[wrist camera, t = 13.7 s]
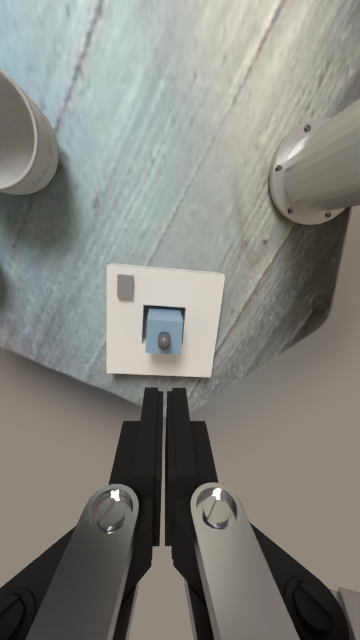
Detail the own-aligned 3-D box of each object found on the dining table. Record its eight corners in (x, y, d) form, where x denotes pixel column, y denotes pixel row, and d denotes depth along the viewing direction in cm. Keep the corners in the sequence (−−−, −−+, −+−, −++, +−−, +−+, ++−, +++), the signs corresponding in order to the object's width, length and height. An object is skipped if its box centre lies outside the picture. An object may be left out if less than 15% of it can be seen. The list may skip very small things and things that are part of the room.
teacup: (69, 204, 33) (42, 194, 25) (-18, 197, 32) (-74, 183, 24) (62, 74, 29) (27, 14, 21) (-38, 60, 28) (-113, -8, 20)
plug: (179, 307, 38) (184, 327, 29) (176, 335, 39) (181, 361, 31) (149, 305, 37) (146, 324, 29) (148, 333, 39) (144, 359, 30)
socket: (220, 272, 37) (226, 275, 34) (207, 368, 42) (211, 380, 38) (111, 263, 36) (105, 265, 32) (110, 363, 40) (105, 375, 37)
